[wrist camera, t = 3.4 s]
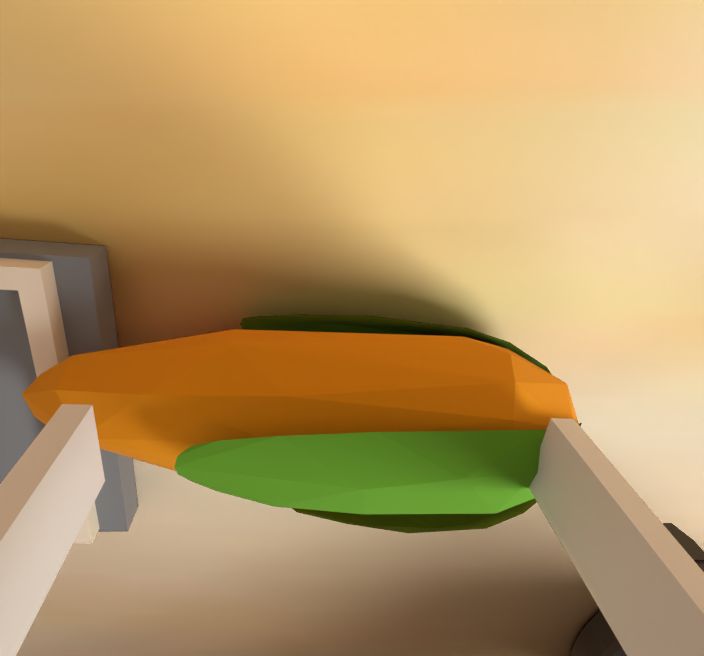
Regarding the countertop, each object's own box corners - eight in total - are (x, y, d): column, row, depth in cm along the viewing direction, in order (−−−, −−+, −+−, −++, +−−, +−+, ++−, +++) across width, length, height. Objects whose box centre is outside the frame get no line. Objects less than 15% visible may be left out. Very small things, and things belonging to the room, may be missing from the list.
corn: (599, 585, 16) (-32, 592, 13) (507, 452, 23) (81, 436, 20) (678, 402, 14) (-88, 359, 11) (548, 314, 21) (65, 273, 18)
